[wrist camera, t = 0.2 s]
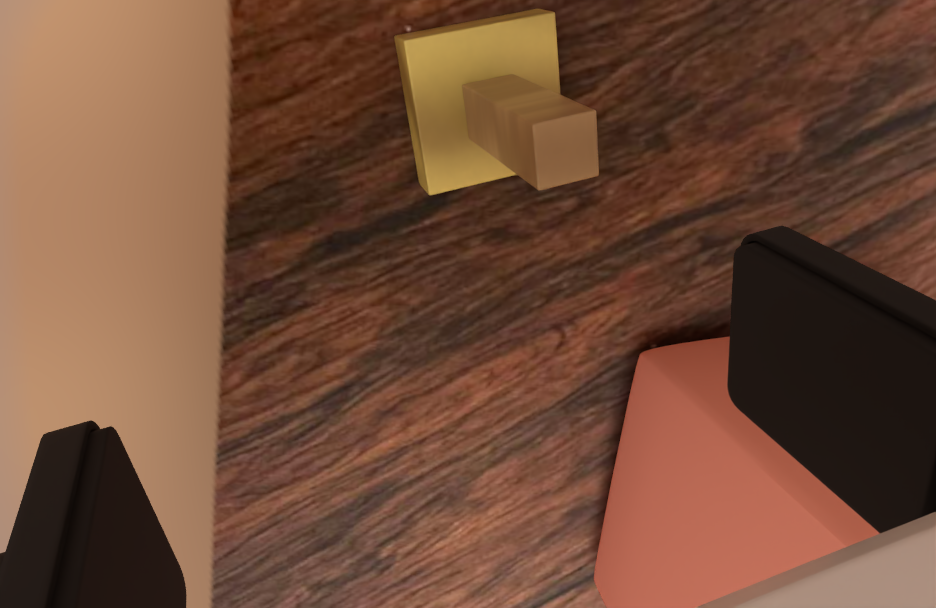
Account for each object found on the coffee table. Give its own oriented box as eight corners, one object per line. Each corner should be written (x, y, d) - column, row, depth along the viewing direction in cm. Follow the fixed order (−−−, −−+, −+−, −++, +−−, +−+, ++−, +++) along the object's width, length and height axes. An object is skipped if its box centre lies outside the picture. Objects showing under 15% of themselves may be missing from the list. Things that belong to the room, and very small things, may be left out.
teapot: (1018, 233, 41) (1498, 407, 26) (888, 539, 51) (1183, 797, 35) (629, 253, 33) (992, 521, 18) (562, 612, 43) (763, 983, 28)
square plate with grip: (393, 35, 26) (463, 70, 19) (538, 8, 27) (652, 32, 20) (418, 184, 29) (487, 262, 22) (550, 153, 30) (654, 218, 23)
